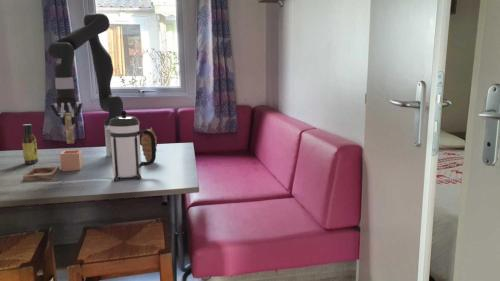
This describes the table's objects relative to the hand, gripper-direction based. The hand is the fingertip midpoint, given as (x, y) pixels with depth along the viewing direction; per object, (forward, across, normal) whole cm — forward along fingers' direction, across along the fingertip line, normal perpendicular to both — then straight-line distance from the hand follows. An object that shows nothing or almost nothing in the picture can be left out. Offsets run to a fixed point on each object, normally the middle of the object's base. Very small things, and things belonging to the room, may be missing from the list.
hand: (68, 124), depth 175 cm
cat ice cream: (+22, -35, -7) cm, 42 cm away
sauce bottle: (+22, +24, -20) cm, 38 cm away
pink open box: (+22, 0, 0) cm, 22 cm away
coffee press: (+22, -27, +18) cm, 40 cm away
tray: (+22, +11, +10) cm, 26 cm away
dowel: (+9, 0, 0) cm, 9 cm away
